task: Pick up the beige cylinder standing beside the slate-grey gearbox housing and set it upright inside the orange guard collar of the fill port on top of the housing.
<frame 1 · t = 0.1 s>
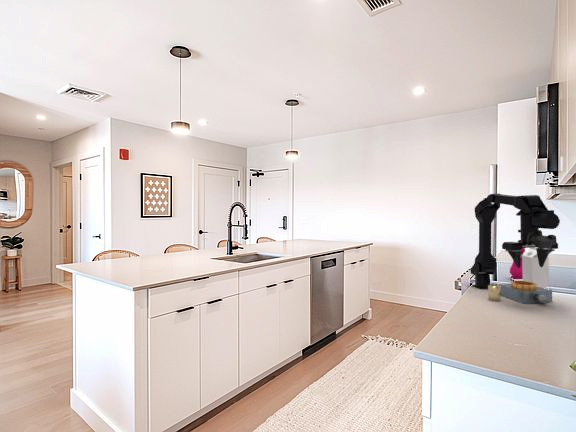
hand: (530, 267, 128), 15 cm above the counter, tool pointing down, fingers open, 9 cm apart
gearbox: (524, 298, 137), on the counter
pepper mill: (518, 280, 166), on the counter
beige cylinder: (494, 300, 136), on the counter
milk carton: (535, 289, 150), on the counter
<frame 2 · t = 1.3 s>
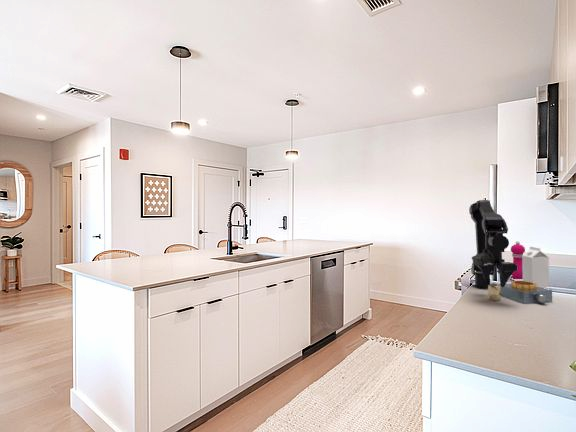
hand: (494, 284, 135), 6 cm above the counter, tool pointing down, fingers open, 9 cm apart
nothing on the counter moved.
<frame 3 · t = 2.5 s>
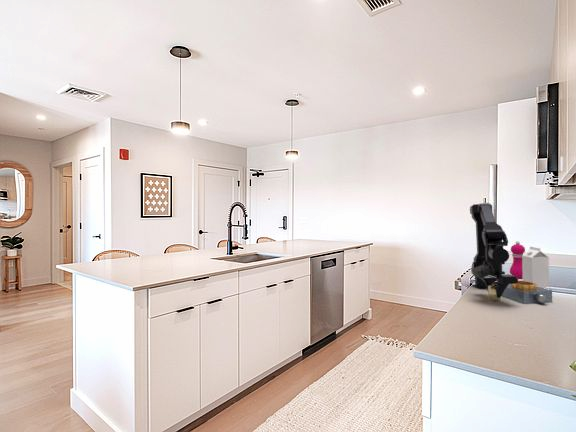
hand: (494, 296, 135), 2 cm above the counter, tool pointing down, fingers closed on beige cylinder, 4 cm apart
beige cylinder: (494, 299, 136), on the counter, touching gripper
everything else where it was.
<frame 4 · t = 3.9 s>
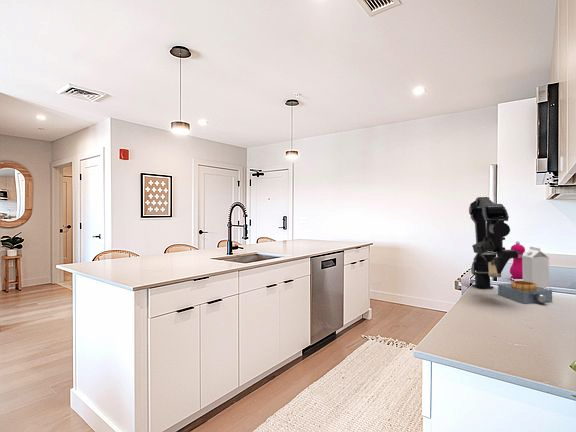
hand: (494, 272, 135), 11 cm above the counter, tool pointing down, fingers closed on beige cylinder, 4 cm apart
beige cylinder: (494, 276, 135), point 10 cm above the counter, touching gripper
everything else where it was.
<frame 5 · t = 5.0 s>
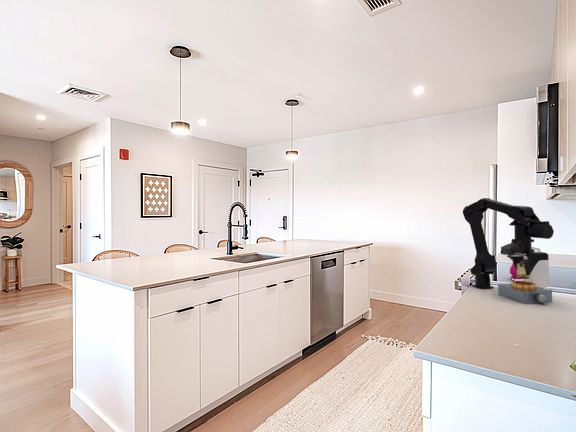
hand: (523, 274, 136), 10 cm above the counter, tool pointing down, fingers closed on beige cylinder, 4 cm apart
beige cylinder: (523, 277, 136), point 8 cm above the counter, touching gripper
everything else where it was.
when the fingers open (7 cm above the counter, at t = 5.7 s): beige cylinder drops 1 cm, resting on gearbox.
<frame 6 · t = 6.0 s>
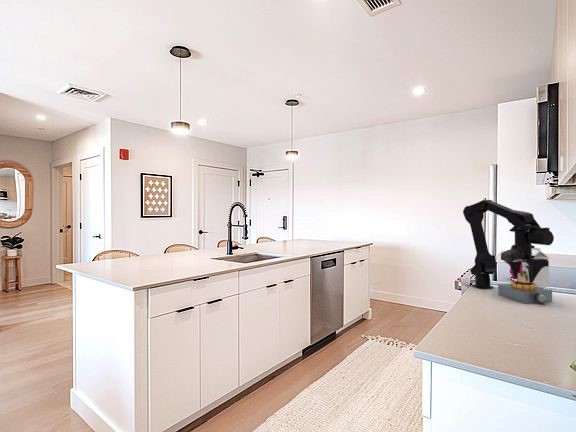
hand: (523, 280, 136), 7 cm above the counter, tool pointing down, fingers open, 7 cm apart
beige cylinder: (523, 287, 137), point 5 cm above the counter, touching gearbox
everything else where it was.
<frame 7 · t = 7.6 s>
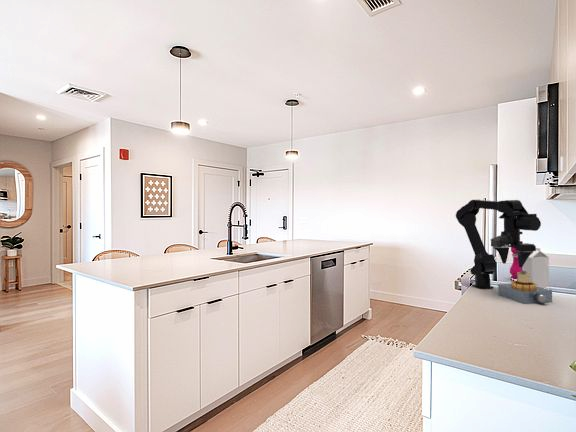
hand: (512, 265, 141), 13 cm above the counter, tool pointing down, fingers open, 9 cm apart
nothing on the counter moved.
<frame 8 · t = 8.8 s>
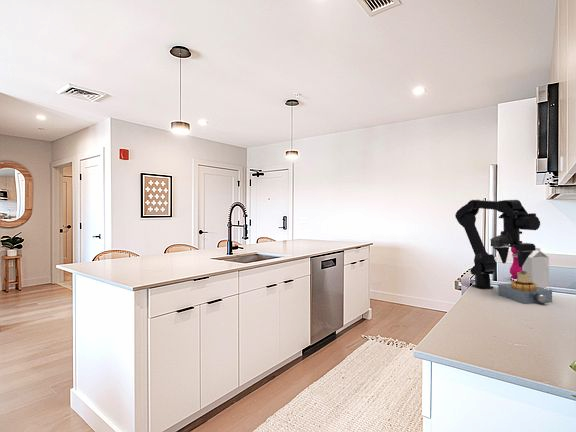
hand: (512, 265, 141), 13 cm above the counter, tool pointing down, fingers open, 9 cm apart
nothing on the counter moved.
at the end: beige cylinder 0.0 cm off-centre on the gearbox, point 4.5 cm above the gearbox's base; beige cylinder tilted 0°; the gripper is holding nothing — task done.
